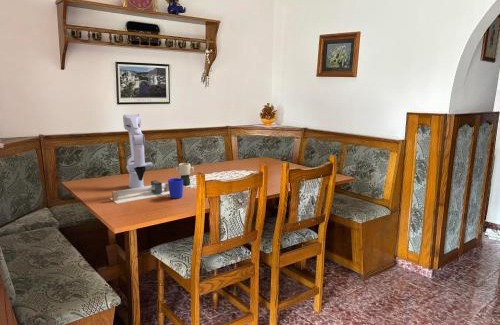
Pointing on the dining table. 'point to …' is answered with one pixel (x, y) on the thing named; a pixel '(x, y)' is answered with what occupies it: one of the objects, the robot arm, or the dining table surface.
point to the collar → (157, 187)
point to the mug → (175, 187)
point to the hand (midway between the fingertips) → (140, 180)
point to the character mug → (185, 172)
